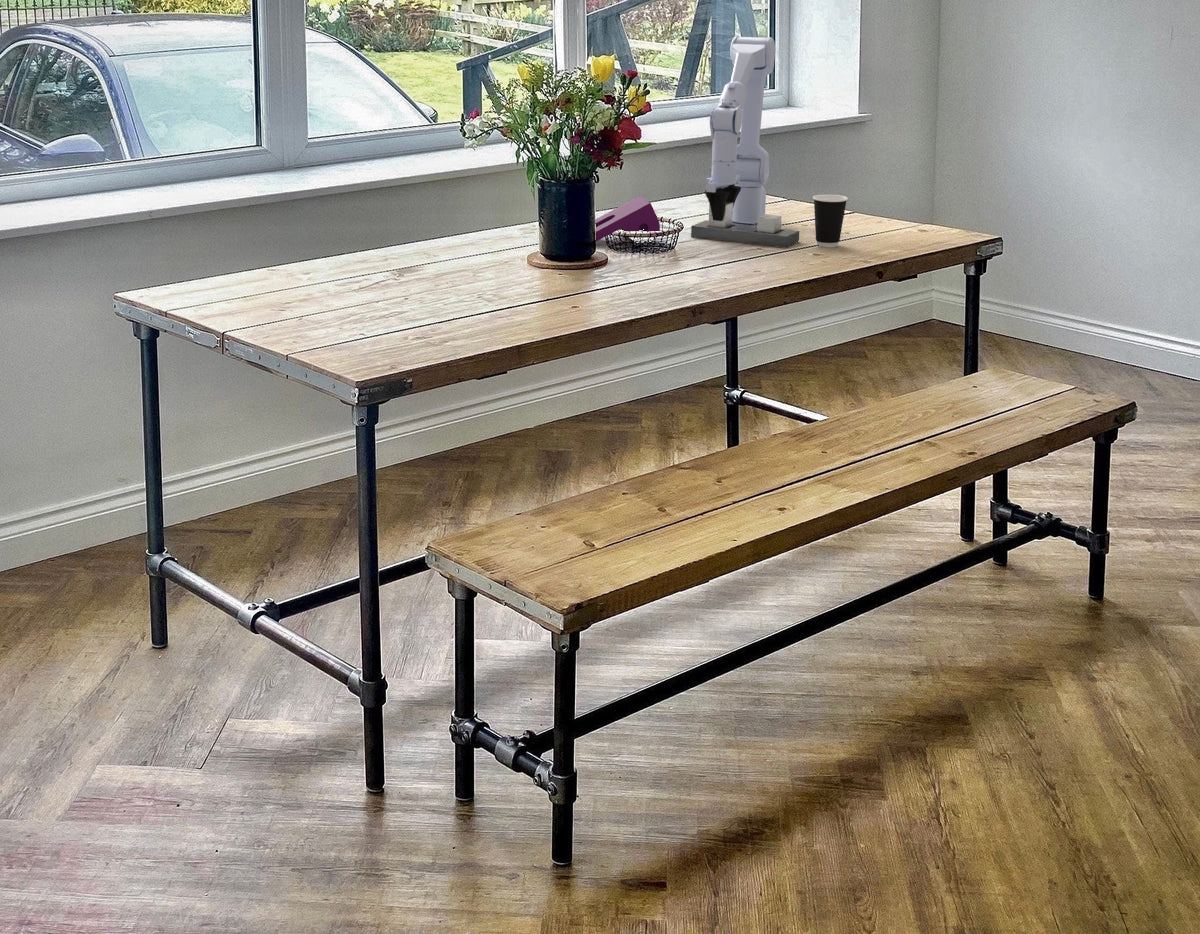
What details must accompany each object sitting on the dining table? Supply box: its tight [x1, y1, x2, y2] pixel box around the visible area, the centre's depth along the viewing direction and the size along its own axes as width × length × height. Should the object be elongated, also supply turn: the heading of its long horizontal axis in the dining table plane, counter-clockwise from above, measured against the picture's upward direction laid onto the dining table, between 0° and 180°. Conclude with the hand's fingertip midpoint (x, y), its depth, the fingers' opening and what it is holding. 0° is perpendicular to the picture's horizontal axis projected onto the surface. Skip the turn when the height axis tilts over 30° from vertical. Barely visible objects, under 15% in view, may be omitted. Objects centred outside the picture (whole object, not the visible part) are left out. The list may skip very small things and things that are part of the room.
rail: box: [690, 219, 800, 248], centre depth 336 cm, size 8×24×3 cm, turn 61°
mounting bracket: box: [594, 195, 661, 242], centre depth 333 cm, size 9×8×18 cm
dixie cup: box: [812, 194, 849, 248], centre depth 329 cm, size 8×8×11 cm
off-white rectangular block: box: [756, 213, 782, 234], centre depth 332 cm, size 4×4×6 cm
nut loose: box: [708, 202, 733, 229], centre depth 337 cm, size 4×4×6 cm
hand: (721, 218), depth 337 cm, fingers closed on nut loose, 4 cm apart
